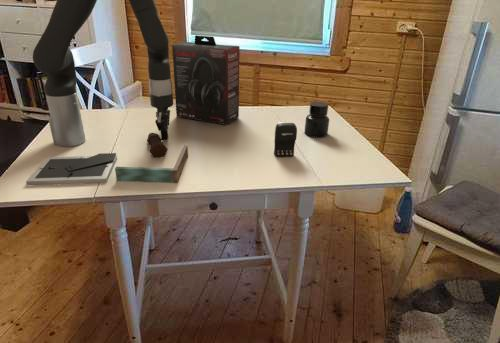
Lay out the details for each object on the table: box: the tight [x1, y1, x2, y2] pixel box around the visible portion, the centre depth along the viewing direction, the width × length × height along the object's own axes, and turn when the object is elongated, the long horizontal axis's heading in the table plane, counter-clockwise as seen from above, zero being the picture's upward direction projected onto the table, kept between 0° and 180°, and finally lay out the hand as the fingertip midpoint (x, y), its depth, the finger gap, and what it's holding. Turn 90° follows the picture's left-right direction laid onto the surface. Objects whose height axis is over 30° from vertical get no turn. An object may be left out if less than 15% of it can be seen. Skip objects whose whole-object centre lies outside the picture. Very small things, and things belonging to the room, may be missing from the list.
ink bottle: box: [304, 101, 330, 138], centre depth 139 cm, size 10×9×12 cm
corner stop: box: [114, 144, 189, 184], centre depth 110 cm, size 17×18×4 cm
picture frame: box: [25, 152, 118, 186], centre depth 107 cm, size 16×3×21 cm
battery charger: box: [273, 121, 298, 158], centre depth 119 cm, size 7×4×11 cm, turn 95°
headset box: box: [171, 34, 241, 126], centre depth 148 cm, size 24×13×33 cm, turn 67°
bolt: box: [146, 132, 169, 159], centre depth 123 cm, size 6×5×15 cm
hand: (164, 139), depth 129 cm, fingers closed
